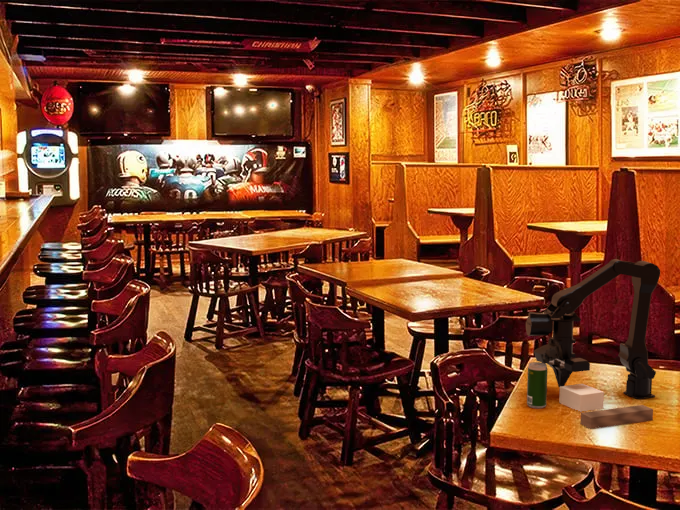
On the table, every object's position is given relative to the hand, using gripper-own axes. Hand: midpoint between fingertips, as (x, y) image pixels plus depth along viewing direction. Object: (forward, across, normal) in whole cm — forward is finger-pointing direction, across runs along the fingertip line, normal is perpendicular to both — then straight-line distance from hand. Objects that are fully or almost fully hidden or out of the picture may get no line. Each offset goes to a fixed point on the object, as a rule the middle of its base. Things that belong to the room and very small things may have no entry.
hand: (560, 387), depth 226 cm
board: (+2, +24, 0) cm, 25 cm away
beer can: (+3, +6, -12) cm, 13 cm away
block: (+3, +10, 0) cm, 10 cm away
